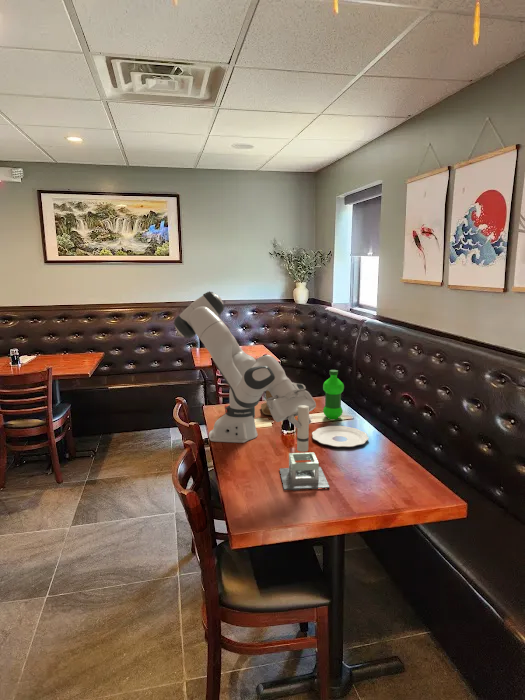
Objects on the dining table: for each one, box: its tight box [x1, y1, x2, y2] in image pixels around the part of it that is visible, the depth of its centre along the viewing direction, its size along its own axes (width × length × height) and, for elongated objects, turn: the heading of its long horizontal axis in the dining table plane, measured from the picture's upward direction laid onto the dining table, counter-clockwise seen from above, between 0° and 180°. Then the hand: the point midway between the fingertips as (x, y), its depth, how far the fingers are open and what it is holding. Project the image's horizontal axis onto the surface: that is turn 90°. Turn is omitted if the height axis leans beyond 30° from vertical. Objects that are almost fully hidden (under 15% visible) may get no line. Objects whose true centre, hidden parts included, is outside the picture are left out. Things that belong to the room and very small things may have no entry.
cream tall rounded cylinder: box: [296, 405, 310, 453], centre depth 159 cm, size 4×4×16 cm
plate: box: [311, 425, 370, 448], centre depth 201 cm, size 25×25×2 cm
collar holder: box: [279, 451, 330, 491], centre depth 162 cm, size 16×16×8 cm
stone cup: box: [260, 390, 272, 416], centre depth 237 cm, size 15×12×15 cm
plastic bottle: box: [322, 369, 345, 420], centre depth 226 cm, size 10×10×25 cm
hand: (304, 425), depth 158 cm, fingers closed on cream tall rounded cylinder, 4 cm apart
